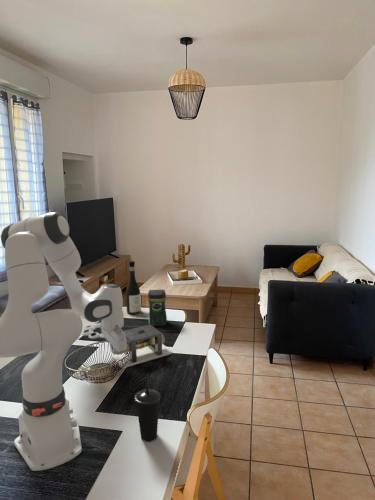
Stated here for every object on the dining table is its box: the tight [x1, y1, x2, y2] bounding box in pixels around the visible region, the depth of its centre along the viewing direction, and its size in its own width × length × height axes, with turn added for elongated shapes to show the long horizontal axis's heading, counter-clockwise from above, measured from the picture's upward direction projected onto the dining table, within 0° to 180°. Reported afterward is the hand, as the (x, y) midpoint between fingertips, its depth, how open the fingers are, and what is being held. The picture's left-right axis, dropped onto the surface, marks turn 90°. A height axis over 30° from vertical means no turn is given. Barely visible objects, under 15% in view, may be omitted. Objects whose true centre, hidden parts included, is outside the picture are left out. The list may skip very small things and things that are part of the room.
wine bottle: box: [125, 260, 142, 315], centre depth 213 cm, size 8×8×30 cm
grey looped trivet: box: [81, 321, 106, 340], centre depth 192 cm, size 20×20×2 cm
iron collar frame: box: [123, 324, 163, 363], centre depth 164 cm, size 14×11×10 cm
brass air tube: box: [117, 333, 166, 355], centre depth 164 cm, size 22×4×4 cm, turn 122°
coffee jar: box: [147, 289, 168, 327], centre depth 198 cm, size 10×8×19 cm
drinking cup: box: [134, 375, 161, 443], centre depth 113 cm, size 8×8×20 cm
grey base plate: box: [111, 343, 173, 369], centre depth 165 cm, size 24×11×1 cm, turn 122°
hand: (114, 352), depth 158 cm, fingers closed, pressing on brass air tube
